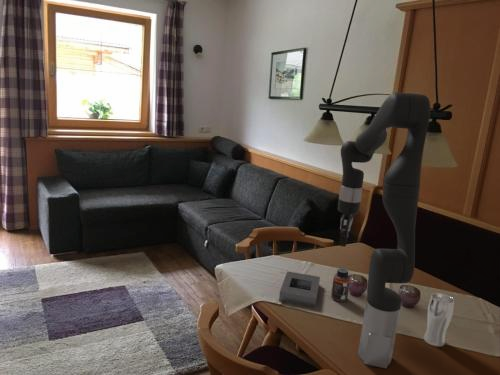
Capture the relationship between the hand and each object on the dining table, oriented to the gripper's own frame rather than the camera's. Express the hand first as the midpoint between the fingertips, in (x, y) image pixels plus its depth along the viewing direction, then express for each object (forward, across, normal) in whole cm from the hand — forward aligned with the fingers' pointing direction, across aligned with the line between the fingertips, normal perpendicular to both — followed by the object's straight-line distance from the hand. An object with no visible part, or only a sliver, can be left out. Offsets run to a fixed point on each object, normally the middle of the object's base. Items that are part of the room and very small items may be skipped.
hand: (343, 241), depth 146 cm
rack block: (+22, -2, +13) cm, 26 cm away
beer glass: (+22, -14, -33) cm, 42 cm away
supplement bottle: (+22, 0, -1) cm, 22 cm away
